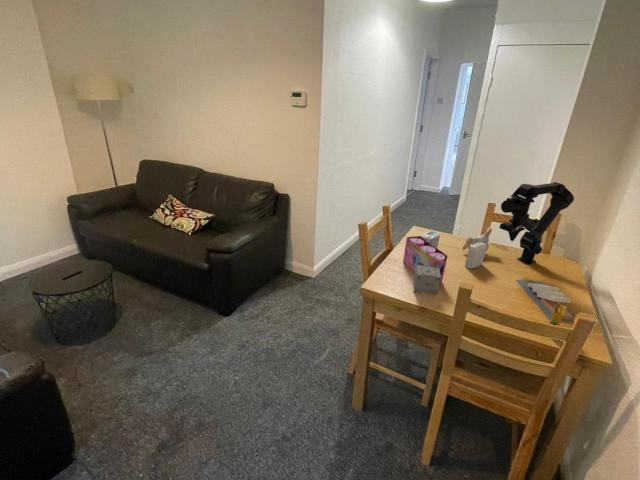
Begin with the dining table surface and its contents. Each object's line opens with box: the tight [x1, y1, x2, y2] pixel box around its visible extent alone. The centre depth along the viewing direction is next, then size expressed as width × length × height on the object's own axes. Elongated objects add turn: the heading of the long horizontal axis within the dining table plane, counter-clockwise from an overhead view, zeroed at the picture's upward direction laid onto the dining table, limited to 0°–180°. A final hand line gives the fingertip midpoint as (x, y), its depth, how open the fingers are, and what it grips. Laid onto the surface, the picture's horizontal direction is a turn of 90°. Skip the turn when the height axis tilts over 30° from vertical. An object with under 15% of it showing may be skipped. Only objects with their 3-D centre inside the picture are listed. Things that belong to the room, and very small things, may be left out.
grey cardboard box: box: [412, 265, 441, 295], centre depth 144 cm, size 10×8×10 cm
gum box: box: [402, 235, 449, 284], centre depth 158 cm, size 24×8×14 cm, turn 17°
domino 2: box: [532, 288, 565, 297], centre depth 142 cm, size 2×6×12 cm
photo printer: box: [464, 243, 487, 270], centre depth 167 cm, size 10×4×12 cm, turn 123°
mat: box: [515, 279, 576, 323], centre depth 143 cm, size 30×12×1 cm, turn 175°
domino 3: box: [537, 293, 571, 304], centre depth 138 cm, size 2×6×12 cm
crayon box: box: [548, 300, 568, 327], centre depth 122 cm, size 7×3×12 cm, turn 138°
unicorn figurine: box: [462, 224, 493, 254], centre depth 181 cm, size 7×20×13 cm, turn 122°
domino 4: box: [540, 298, 573, 320], centre depth 136 cm, size 2×6×12 cm
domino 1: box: [528, 283, 560, 292], centre depth 146 cm, size 2×6×12 cm
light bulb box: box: [419, 230, 441, 249], centre depth 178 cm, size 11×7×11 cm, turn 134°
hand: (511, 240), depth 167 cm, fingers closed
